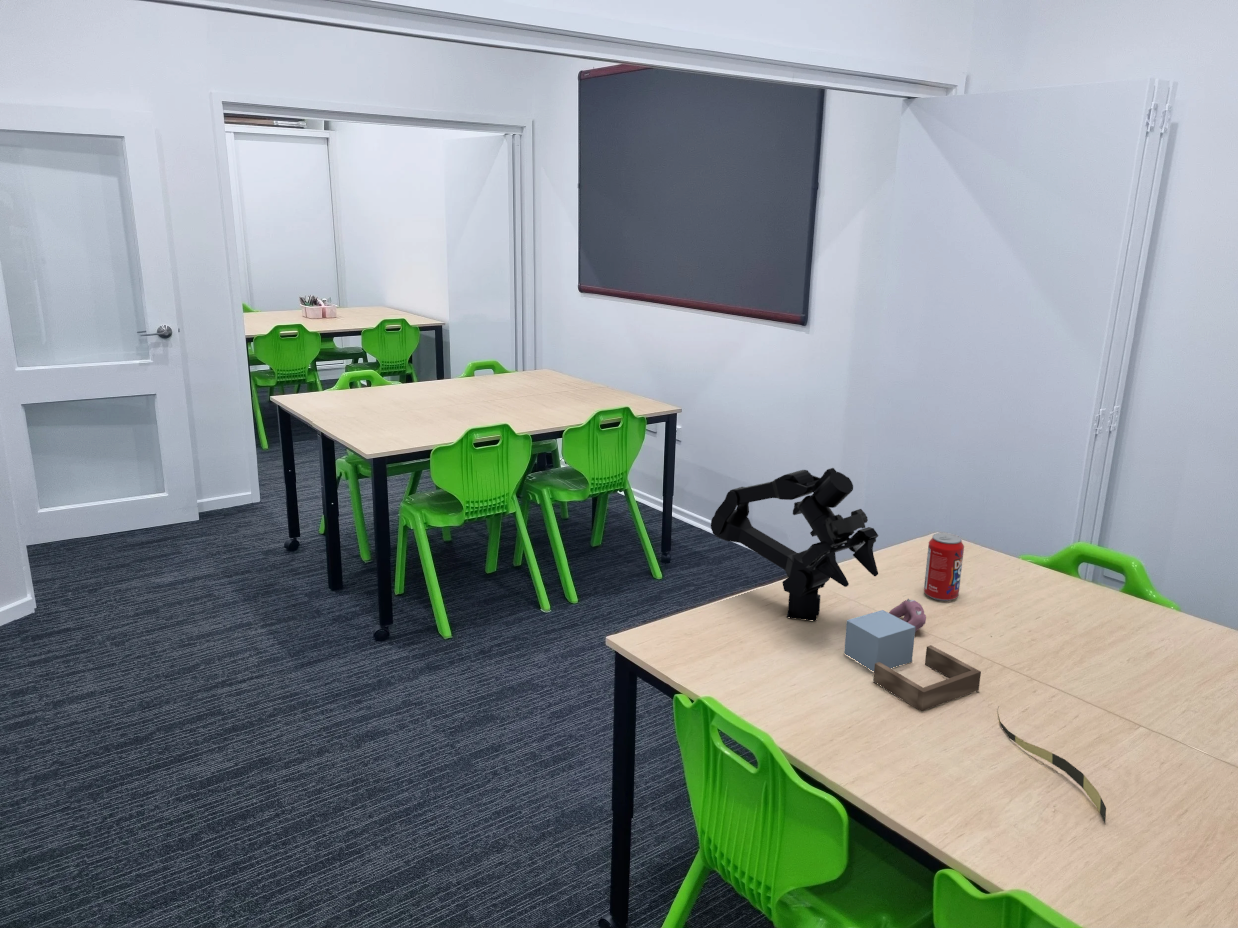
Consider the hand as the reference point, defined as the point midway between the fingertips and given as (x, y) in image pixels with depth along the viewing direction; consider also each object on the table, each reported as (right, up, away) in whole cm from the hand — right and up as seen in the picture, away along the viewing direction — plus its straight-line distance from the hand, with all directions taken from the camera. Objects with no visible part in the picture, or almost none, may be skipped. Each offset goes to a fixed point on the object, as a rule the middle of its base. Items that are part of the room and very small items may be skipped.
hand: (862, 580), depth 185 cm
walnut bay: (+8, -18, -14) cm, 24 cm away
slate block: (+2, -16, -3) cm, 16 cm away
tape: (+22, -25, -34) cm, 48 cm away
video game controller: (+13, -12, +10) cm, 20 cm away
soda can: (+26, -7, +26) cm, 37 cm away
